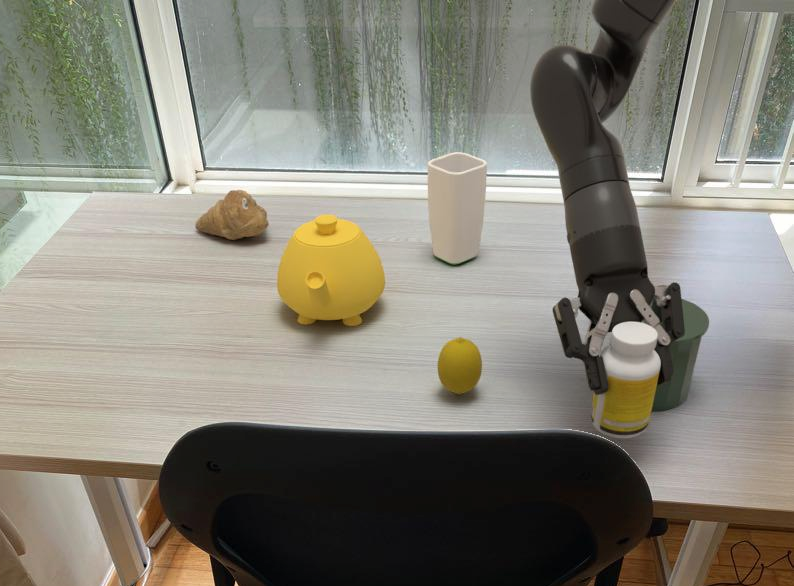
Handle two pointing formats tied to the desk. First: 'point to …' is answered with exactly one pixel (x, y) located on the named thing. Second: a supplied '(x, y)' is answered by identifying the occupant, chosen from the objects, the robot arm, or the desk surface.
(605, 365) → the pill bottle
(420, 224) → the desk surface
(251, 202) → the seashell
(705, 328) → the pot lid
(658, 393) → the pot
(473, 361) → the lemon
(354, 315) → the teapot
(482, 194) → the cup
